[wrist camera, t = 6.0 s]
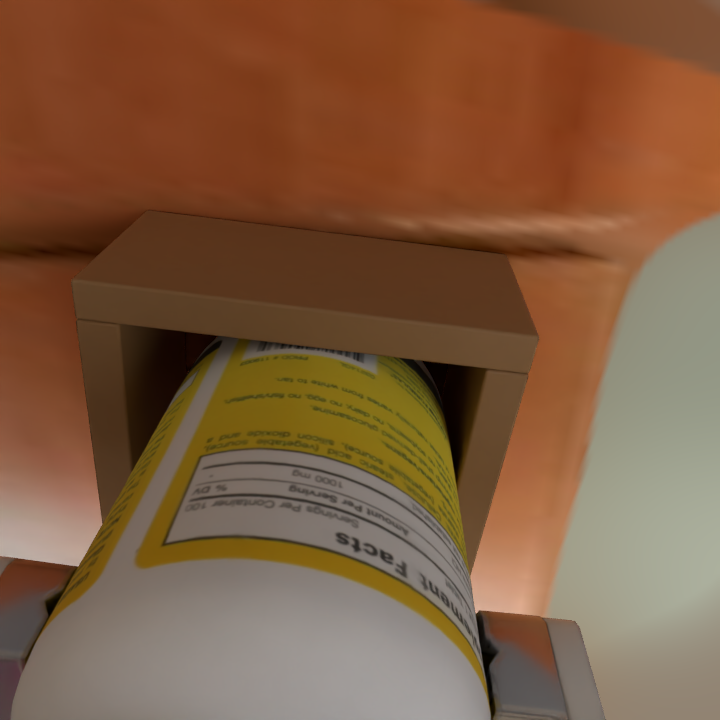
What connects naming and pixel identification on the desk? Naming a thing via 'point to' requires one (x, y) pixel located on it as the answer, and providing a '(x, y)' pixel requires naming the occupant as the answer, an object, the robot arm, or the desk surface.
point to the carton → (300, 328)
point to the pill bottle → (275, 556)
